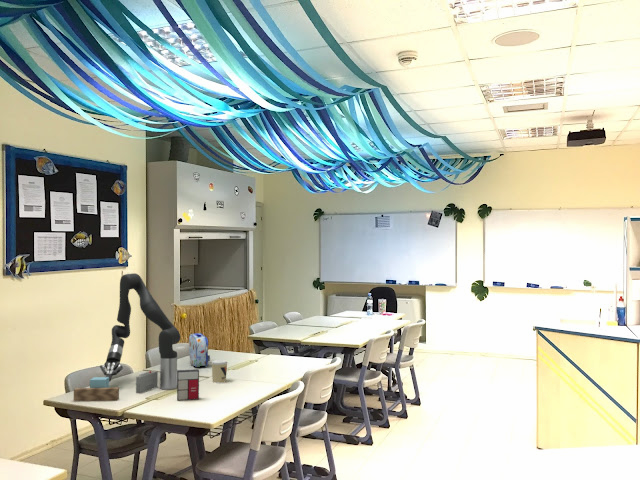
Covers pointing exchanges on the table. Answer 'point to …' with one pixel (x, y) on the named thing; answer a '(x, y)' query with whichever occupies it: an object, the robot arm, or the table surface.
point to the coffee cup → (219, 370)
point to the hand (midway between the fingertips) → (107, 381)
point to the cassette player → (146, 381)
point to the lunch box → (198, 350)
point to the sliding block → (99, 382)
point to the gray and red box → (187, 384)
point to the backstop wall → (96, 394)
